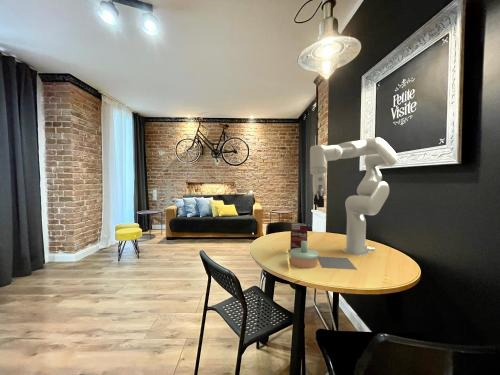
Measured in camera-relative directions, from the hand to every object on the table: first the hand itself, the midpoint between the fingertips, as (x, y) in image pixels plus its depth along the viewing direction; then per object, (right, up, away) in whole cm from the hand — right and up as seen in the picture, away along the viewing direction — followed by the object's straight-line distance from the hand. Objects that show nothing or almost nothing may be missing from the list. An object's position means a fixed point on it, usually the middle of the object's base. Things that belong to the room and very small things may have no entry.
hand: (318, 205), depth 114 cm
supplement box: (-7, -27, +12) cm, 30 cm away
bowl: (-9, -27, -5) cm, 29 cm away
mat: (+7, -27, -4) cm, 29 cm away
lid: (-8, -22, -5) cm, 25 cm away
